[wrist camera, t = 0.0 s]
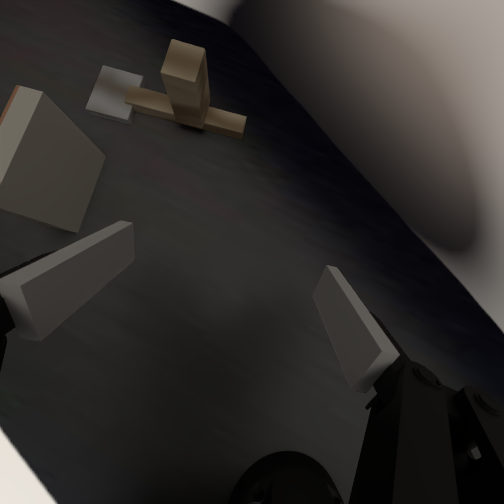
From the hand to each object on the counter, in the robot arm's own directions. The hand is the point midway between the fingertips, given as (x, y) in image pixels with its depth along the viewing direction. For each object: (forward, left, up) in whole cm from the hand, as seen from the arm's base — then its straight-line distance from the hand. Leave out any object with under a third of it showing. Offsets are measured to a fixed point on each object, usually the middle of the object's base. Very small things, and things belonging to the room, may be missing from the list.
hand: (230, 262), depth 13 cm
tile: (+7, +23, -15) cm, 28 cm away
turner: (+23, +14, -15) cm, 31 cm away
